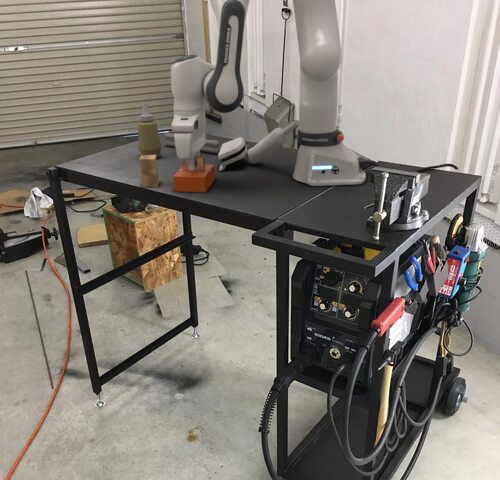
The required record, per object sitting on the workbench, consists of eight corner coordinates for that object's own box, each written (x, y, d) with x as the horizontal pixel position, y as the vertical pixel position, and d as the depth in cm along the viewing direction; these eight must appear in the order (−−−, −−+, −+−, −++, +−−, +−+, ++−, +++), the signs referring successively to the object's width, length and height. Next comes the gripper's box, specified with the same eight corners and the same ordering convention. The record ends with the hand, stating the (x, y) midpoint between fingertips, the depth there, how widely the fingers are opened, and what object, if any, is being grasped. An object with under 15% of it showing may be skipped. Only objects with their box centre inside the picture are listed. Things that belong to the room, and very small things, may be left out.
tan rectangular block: (183, 170, 162) (181, 156, 159) (184, 169, 163) (183, 154, 161) (204, 171, 161) (203, 156, 158) (205, 169, 162) (204, 155, 160)
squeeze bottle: (163, 154, 196) (157, 101, 187) (161, 160, 190) (155, 105, 180) (141, 154, 196) (134, 102, 187) (138, 160, 189) (131, 106, 180)
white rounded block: (219, 171, 175) (247, 160, 173) (213, 158, 173) (242, 146, 171) (224, 158, 189) (250, 147, 187) (218, 145, 187) (245, 134, 185)
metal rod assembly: (164, 146, 206) (163, 133, 203) (169, 145, 208) (168, 131, 205) (216, 155, 193) (215, 141, 190) (221, 153, 194) (220, 139, 192)
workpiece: (159, 182, 168) (156, 154, 163) (157, 186, 164) (154, 158, 159) (144, 182, 168) (140, 155, 163) (142, 187, 164) (139, 159, 159)
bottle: (260, 156, 183) (306, 122, 163) (254, 167, 182) (301, 134, 161) (248, 146, 181) (293, 111, 161) (243, 158, 179) (288, 123, 159)
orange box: (184, 178, 170) (182, 163, 168) (217, 179, 169) (216, 164, 166) (172, 191, 160) (171, 175, 157) (207, 192, 158) (206, 176, 155)
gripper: (188, 111, 163) (192, 158, 170) (169, 126, 146) (174, 177, 153) (209, 111, 162) (212, 158, 169) (191, 126, 145) (196, 177, 152)
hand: (194, 167), depth 161 cm, fingers open, 3 cm apart
